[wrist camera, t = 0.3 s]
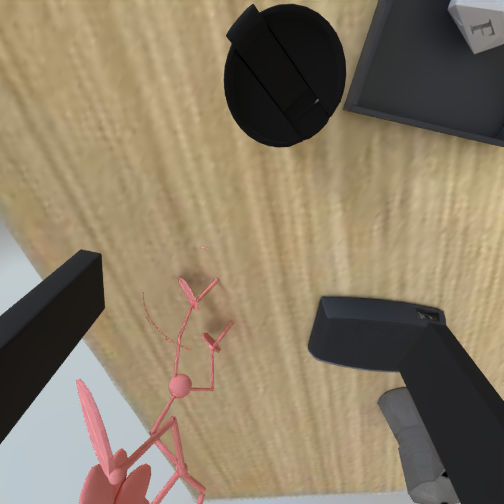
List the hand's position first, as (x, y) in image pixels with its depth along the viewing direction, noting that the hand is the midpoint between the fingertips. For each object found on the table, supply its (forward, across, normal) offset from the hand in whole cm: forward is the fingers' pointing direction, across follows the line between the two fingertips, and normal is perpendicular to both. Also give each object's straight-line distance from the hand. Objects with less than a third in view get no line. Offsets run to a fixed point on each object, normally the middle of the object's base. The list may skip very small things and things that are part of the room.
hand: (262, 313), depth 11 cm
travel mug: (+27, -1, +8) cm, 29 cm away
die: (+27, +16, +20) cm, 37 cm away
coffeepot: (+27, +37, -40) cm, 61 cm away
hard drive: (+27, +23, -22) cm, 42 cm away
